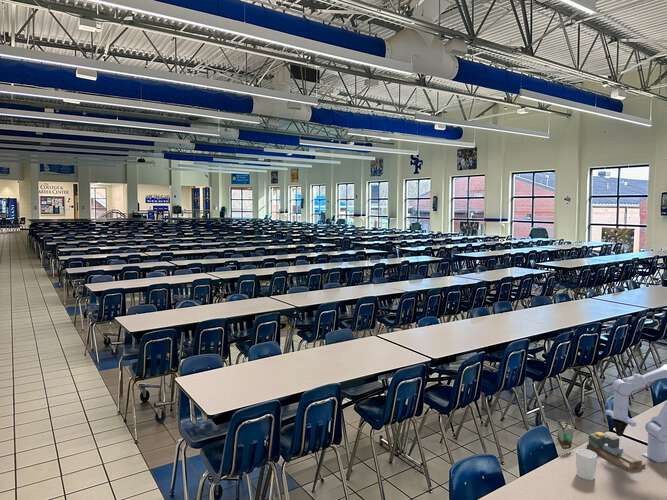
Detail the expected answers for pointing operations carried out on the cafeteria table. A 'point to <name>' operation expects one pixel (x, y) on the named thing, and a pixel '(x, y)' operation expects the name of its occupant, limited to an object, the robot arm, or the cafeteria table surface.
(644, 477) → the cafeteria table surface
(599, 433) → the button
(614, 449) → the carriage
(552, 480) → the cafeteria table surface
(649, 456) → the robot arm
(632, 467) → the rail board
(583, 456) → the white cup
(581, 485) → the cafeteria table surface
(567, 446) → the food container
